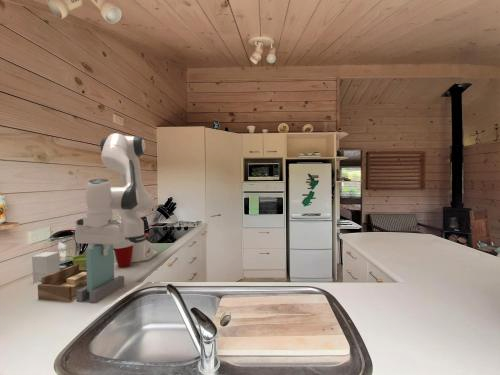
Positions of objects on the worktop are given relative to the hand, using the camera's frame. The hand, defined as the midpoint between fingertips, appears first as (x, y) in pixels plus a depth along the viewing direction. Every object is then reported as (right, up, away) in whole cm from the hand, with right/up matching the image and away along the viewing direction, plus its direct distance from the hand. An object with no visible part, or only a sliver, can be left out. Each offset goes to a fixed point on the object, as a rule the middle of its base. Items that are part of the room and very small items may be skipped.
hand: (100, 254), depth 102 cm
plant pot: (-23, -17, +26) cm, 38 cm away
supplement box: (-35, -17, +18) cm, 43 cm away
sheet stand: (0, -17, +1) cm, 17 cm away
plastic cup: (-9, -16, +37) cm, 41 cm away
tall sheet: (0, -12, 0) cm, 12 cm away
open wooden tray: (-13, -17, +3) cm, 21 cm away
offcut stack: (-11, -15, +3) cm, 19 cm away
